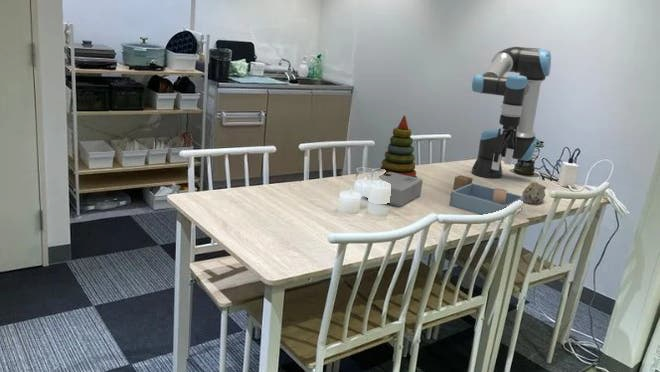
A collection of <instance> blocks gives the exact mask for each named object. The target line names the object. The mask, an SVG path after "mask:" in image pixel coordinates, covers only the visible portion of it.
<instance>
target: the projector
mask: <svg viewBox="0 0 660 372" xmlns="http://www.w3.org/2000/svg"><path fill="white" fill-rule="evenodd" d="M379 178H380V179H381V180H383V181H386V182H388V183H390V184H391V196H390V204H389V205H391V206H395V207H398V208H400V207H403V206H404V205H406V204H407V203H411V201H413V200H414V199H417V198H418V197H420V196H421V194H422V187H423V179H422V178H415V177H411V176H406V175H402V174H398V173H393V172H388V173H385V174H383V175H381V176H379Z"/></svg>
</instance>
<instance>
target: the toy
mask: <svg viewBox="0 0 660 372" xmlns="http://www.w3.org/2000/svg"><path fill="white" fill-rule="evenodd" d="M411 135H412V129H411V128H409V126H408V122H407V118H406V115H403V116H402V118H401V121H400V122H399V124H398V126H397V127H394V128H393V129H392V136H390V139H389V143H388V145H387V151H385V153H384V157H385V158H384V159H383V160H382V161H381V166H380V168H379V170H380V169H385V170H386V172H385V173H388V172H393V173H398V174H402V175H406V176H411V177H415V178H418V177H417V171H416V170H415V169H416V164H415V162H414V161H415V159H416V158H415V155H414V154H413V153H414V151H415V148H414V146H412V145H413V142H414V140H413V137H411ZM385 173H384V174H385Z"/></svg>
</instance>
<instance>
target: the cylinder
mask: <svg viewBox="0 0 660 372" xmlns="http://www.w3.org/2000/svg"><path fill="white" fill-rule="evenodd" d="M493 189H494V194H493V199H492V202H493V203H496V204H500V205H505V199H506V194H507V192H508V191H507V190H506V189H503V188H493Z"/></svg>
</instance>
